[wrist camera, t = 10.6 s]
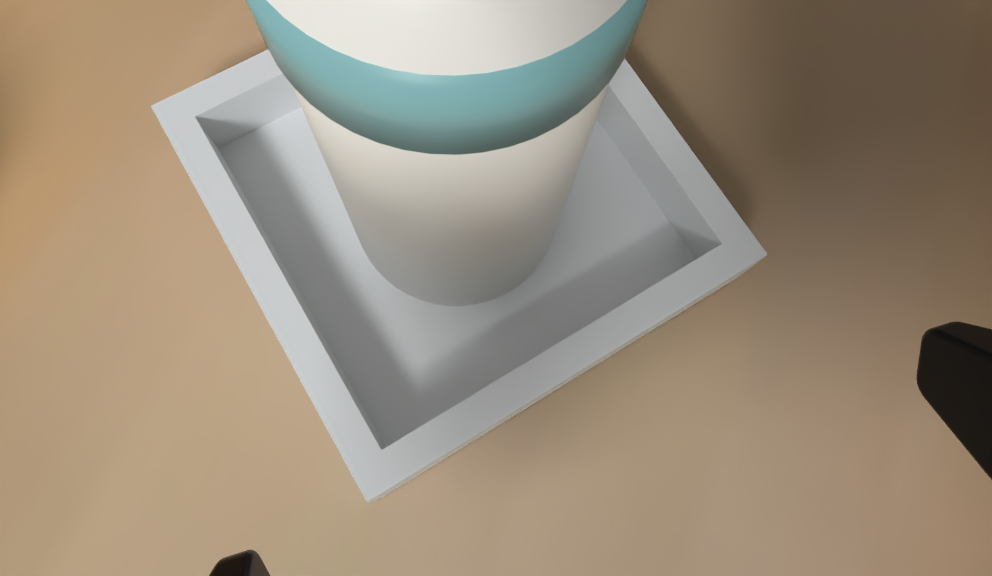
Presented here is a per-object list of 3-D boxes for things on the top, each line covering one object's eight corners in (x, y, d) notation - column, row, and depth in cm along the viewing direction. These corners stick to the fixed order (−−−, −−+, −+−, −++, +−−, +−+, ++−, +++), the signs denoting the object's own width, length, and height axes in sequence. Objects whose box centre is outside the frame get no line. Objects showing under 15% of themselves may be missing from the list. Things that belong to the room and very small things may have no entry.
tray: (734, 279, 20) (767, 254, 17) (378, 499, 18) (366, 502, 16) (521, -20, 22) (527, -76, 20) (185, 146, 20) (151, 105, 18)
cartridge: (599, 185, 20) (900, -474, 6) (482, 352, 18) (535, -17, 5) (432, 78, 20) (369, -736, 7) (307, 231, 19) (-86, -399, 5)
